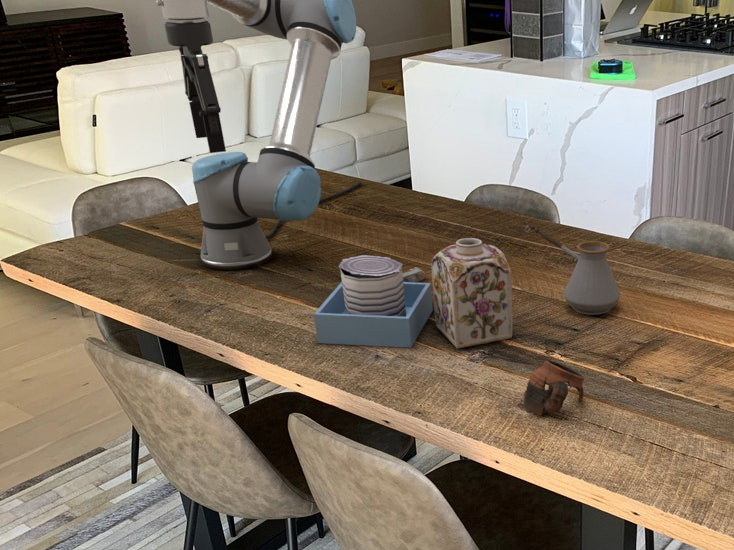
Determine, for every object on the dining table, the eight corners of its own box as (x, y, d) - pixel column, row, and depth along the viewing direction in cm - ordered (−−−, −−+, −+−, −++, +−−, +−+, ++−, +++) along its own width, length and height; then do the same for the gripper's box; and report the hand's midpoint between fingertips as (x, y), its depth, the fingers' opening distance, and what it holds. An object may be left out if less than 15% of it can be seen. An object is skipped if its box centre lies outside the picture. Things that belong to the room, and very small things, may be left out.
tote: (347, 306, 176) (343, 279, 173) (432, 310, 174) (430, 283, 172) (317, 343, 161) (313, 314, 158) (411, 347, 159) (408, 318, 156)
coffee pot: (629, 304, 178) (633, 232, 171) (602, 323, 170) (605, 249, 162) (541, 283, 188) (541, 215, 180) (512, 301, 179) (510, 230, 171)
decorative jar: (455, 350, 158) (449, 255, 149) (433, 327, 167) (427, 236, 158) (515, 338, 163) (513, 245, 154) (491, 316, 172) (487, 227, 163)
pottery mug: (513, 397, 144) (533, 352, 143) (564, 417, 147) (584, 373, 146) (525, 415, 133) (547, 366, 132) (580, 436, 136) (602, 389, 135)
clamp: (407, 263, 191) (436, 274, 185) (408, 272, 192) (437, 284, 187) (349, 280, 182) (378, 293, 176) (351, 290, 183) (379, 303, 177)
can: (350, 311, 171) (342, 253, 165) (408, 309, 173) (403, 251, 166) (343, 335, 162) (335, 274, 156) (405, 333, 163) (399, 272, 157)
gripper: (153, 14, 160) (178, 133, 171) (175, 28, 142) (202, 160, 153) (196, 12, 164) (218, 129, 174) (223, 26, 145) (245, 156, 156)
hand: (210, 144), depth 164 cm, fingers open, 13 cm apart
